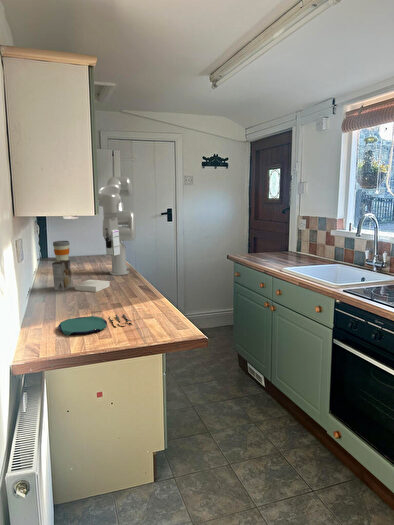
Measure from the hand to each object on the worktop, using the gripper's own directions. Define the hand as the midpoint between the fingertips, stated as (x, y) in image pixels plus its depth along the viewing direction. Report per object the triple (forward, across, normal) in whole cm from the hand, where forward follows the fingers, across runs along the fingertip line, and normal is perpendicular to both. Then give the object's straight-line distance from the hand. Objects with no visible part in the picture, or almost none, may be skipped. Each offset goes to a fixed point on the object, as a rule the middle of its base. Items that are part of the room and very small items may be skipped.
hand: (112, 246), depth 239 cm
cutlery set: (+23, +63, +30) cm, 74 cm away
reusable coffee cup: (+26, -63, -87) cm, 110 cm away
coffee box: (+24, +14, -26) cm, 38 cm away
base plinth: (+24, +8, -10) cm, 27 cm away
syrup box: (+5, 0, +1) cm, 5 cm away
